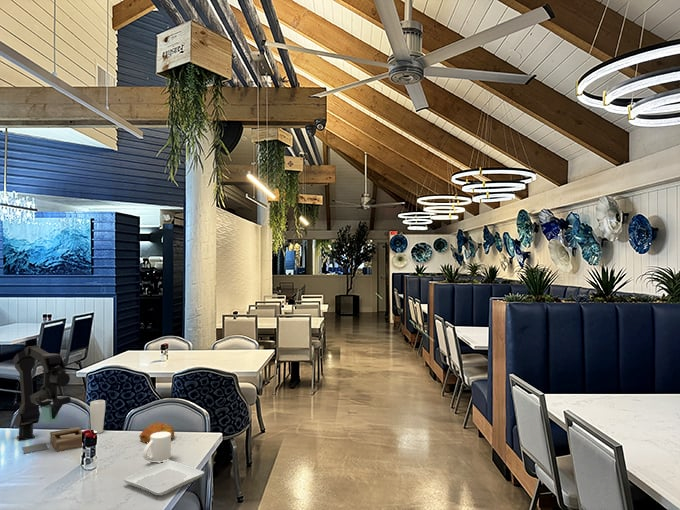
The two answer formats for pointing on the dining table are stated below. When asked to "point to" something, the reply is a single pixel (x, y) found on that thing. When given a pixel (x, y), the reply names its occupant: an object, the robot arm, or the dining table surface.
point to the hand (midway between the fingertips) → (49, 418)
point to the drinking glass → (97, 415)
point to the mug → (158, 447)
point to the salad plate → (189, 471)
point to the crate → (66, 439)
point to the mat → (35, 448)
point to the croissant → (153, 429)
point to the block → (47, 415)
